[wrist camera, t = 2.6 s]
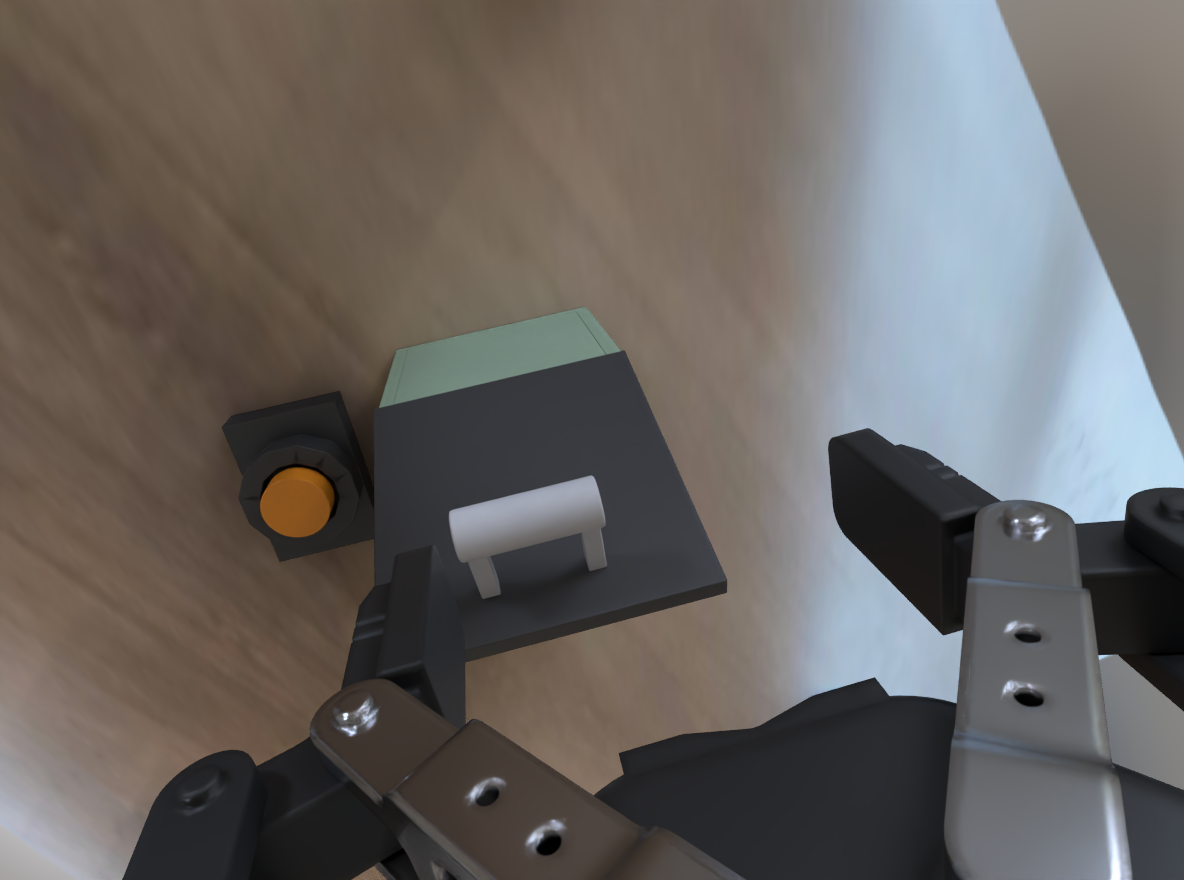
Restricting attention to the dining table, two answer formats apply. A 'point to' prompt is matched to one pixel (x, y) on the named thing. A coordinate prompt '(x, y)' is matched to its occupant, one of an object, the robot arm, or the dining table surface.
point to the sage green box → (495, 355)
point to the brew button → (297, 502)
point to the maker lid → (541, 503)
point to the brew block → (312, 441)
